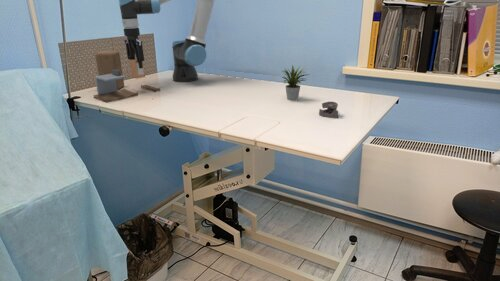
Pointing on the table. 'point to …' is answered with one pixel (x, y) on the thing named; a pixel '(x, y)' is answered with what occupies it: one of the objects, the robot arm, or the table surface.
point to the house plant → (293, 83)
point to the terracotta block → (135, 69)
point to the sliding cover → (108, 82)
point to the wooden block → (109, 64)
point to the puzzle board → (122, 94)
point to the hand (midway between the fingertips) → (138, 73)
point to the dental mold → (329, 110)
